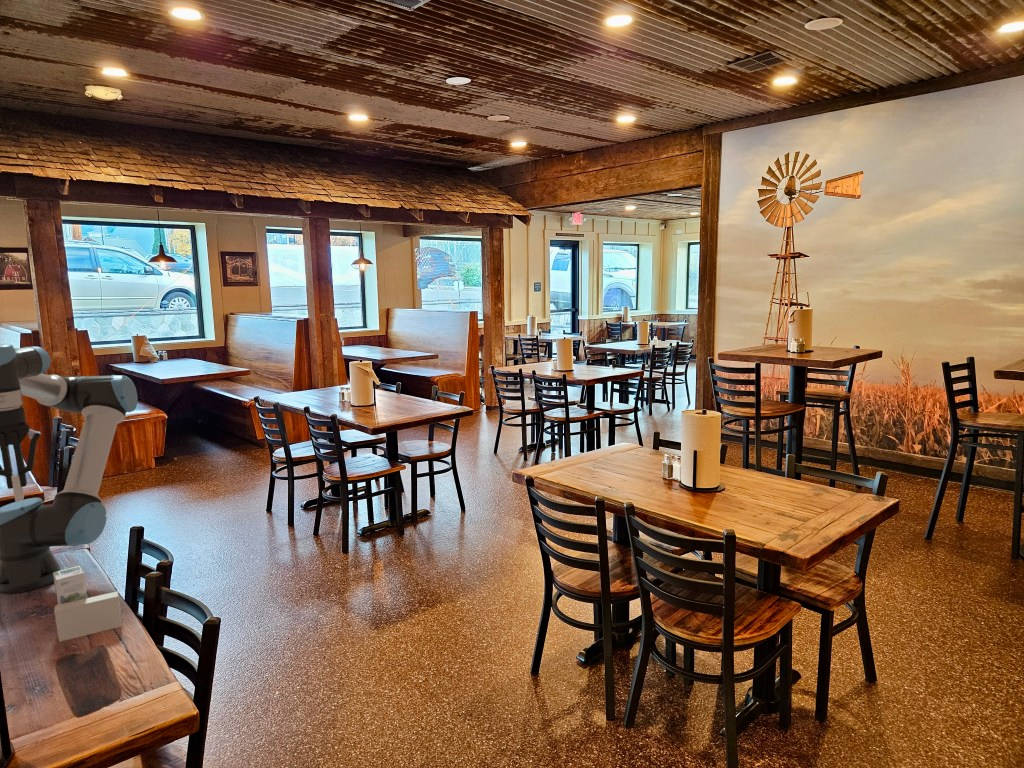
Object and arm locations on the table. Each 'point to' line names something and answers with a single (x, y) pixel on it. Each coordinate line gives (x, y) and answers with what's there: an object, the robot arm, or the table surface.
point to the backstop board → (88, 616)
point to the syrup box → (70, 585)
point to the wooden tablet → (88, 680)
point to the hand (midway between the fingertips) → (19, 499)
